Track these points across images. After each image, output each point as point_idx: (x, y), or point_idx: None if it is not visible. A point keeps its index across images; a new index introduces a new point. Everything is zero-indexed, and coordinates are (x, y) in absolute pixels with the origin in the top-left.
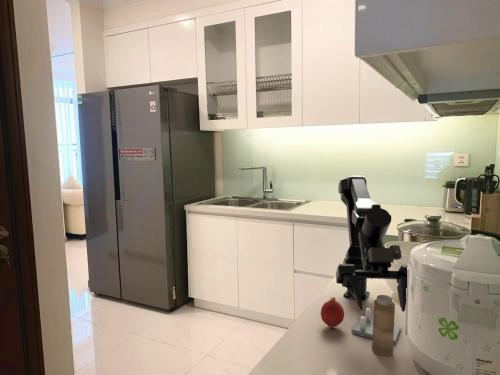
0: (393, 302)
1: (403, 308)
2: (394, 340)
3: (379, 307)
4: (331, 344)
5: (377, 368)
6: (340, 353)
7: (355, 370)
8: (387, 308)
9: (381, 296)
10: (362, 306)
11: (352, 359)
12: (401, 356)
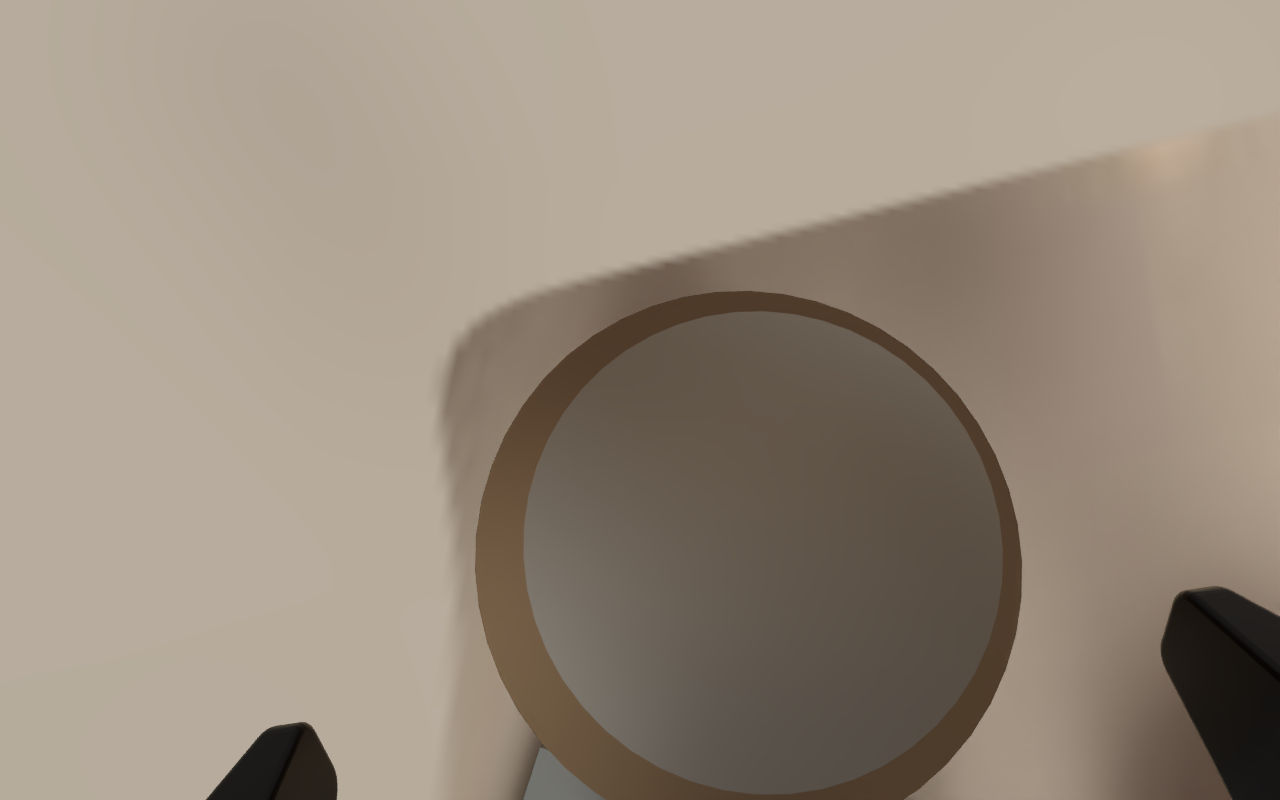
0: (497, 639)
1: (288, 737)
2: (546, 750)
3: (872, 337)
4: (1241, 573)
5: (770, 262)
6: (1121, 420)
7: (961, 189)
8: (693, 301)
9: (854, 621)
10: (1212, 607)
11: (996, 345)
12: None
